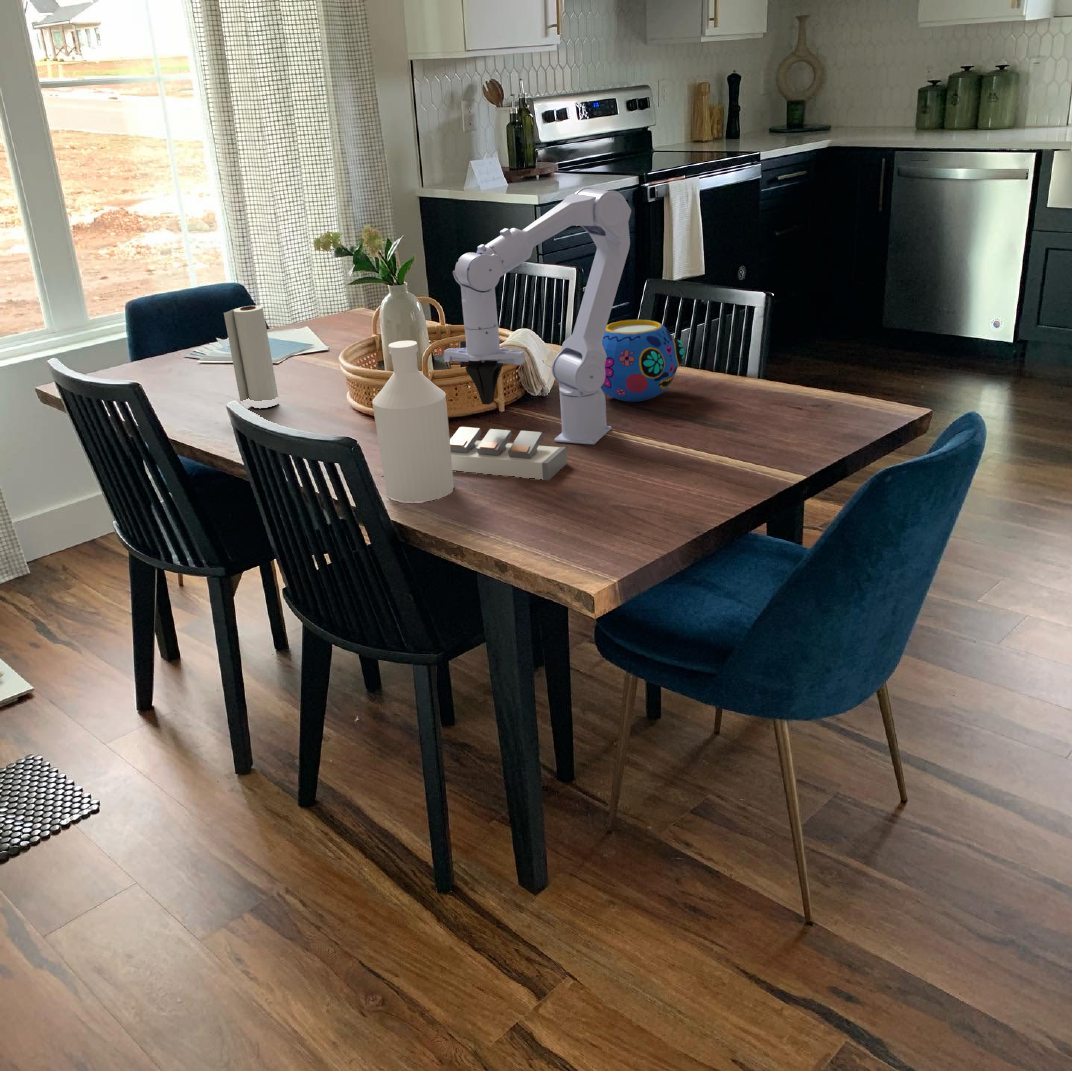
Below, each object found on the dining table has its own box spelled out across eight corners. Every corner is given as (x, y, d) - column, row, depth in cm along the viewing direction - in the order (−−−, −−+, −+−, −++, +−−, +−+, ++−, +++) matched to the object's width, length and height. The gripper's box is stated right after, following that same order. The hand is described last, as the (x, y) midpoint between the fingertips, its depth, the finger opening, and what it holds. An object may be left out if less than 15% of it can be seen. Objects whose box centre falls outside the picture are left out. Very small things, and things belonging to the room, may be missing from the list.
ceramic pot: (650, 416, 207) (648, 340, 201) (575, 404, 217) (571, 331, 211) (695, 392, 220) (694, 320, 213) (622, 382, 230) (619, 313, 224)
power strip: (421, 450, 198) (418, 432, 196) (566, 463, 186) (565, 444, 185) (398, 466, 191) (396, 447, 189) (548, 480, 179) (547, 460, 178)
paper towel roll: (283, 401, 234) (266, 303, 225) (274, 409, 229) (256, 310, 220) (251, 402, 235) (233, 305, 226) (241, 410, 229) (223, 311, 221)
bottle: (370, 493, 179) (350, 347, 169) (425, 473, 187) (408, 331, 177) (414, 510, 171) (395, 357, 161) (470, 487, 179) (455, 340, 169)
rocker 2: (491, 434, 189) (490, 427, 188) (512, 436, 187) (510, 429, 186) (477, 453, 185) (476, 447, 184) (498, 455, 183) (497, 448, 182)
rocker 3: (522, 436, 186) (520, 429, 185) (543, 437, 185) (541, 431, 184) (509, 457, 182) (507, 450, 181) (530, 459, 181) (529, 452, 180)
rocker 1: (461, 432, 191) (459, 425, 190) (481, 433, 189) (479, 427, 189) (447, 451, 187) (445, 444, 186) (467, 453, 185) (465, 446, 184)
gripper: (432, 330, 181) (440, 407, 186) (510, 332, 175) (516, 411, 181) (451, 320, 187) (458, 395, 192) (527, 322, 181) (532, 399, 187)
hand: (488, 402), depth 187 cm, fingers closed
